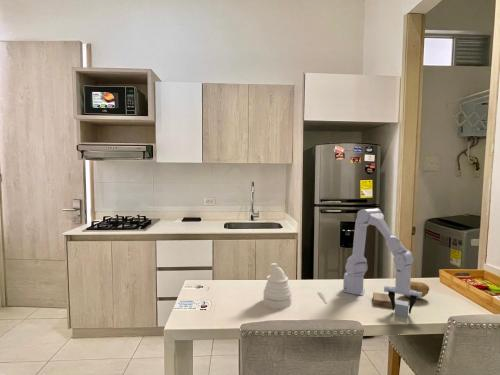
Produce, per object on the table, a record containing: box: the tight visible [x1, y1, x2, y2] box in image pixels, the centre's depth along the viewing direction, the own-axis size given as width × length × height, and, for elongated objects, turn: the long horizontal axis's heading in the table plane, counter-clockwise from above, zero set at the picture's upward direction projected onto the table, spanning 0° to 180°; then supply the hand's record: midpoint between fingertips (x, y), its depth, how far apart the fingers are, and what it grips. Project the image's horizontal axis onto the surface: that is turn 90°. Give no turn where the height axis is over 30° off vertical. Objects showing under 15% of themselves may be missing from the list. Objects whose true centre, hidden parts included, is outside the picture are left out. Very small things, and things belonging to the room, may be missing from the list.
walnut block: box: [372, 292, 392, 308], centre depth 152 cm, size 9×9×3 cm
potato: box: [403, 280, 430, 300], centre depth 158 cm, size 10×14×8 cm
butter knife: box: [317, 291, 328, 305], centre depth 150 cm, size 1×27×3 cm
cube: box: [394, 299, 410, 318], centre depth 140 cm, size 5×5×5 cm
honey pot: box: [262, 262, 293, 310], centre depth 150 cm, size 13×13×18 cm
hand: (401, 310), depth 140 cm, fingers open, 6 cm apart
